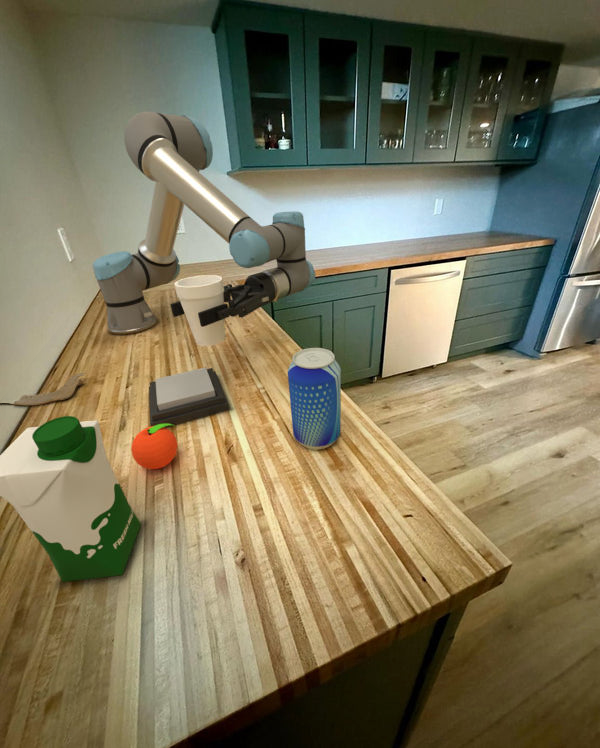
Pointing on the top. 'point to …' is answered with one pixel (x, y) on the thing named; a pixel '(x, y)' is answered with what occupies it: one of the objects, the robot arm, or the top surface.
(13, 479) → the milk carton
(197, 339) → the foam cup
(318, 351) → the beer can
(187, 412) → the scale
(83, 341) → the top surface
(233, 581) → the top surface
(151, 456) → the clementine
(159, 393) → the scale platform
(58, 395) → the jawbone
